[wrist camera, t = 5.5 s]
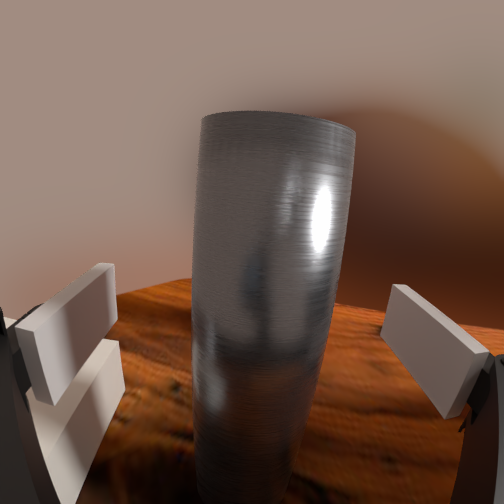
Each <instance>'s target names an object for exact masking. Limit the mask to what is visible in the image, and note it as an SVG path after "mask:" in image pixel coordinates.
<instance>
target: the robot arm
mask: <svg viewBox="0 0 504 504" xmlns="http://www.w3.org/2000/svg"><path fill="white" fill-rule="evenodd" d="M114 271H115V269H114V264H108V263H98V264H97V265H96V266H94V267H93V268H91V269H90V270H89V271H87V272H86V273H84V274H83V275H81V276H80V277H79V278H77V279H76V280H75V281H73V282H72V283H70V284H69V285H68V286H67V287H65V288H64V289H63V290H61V291H60V292H58V293H57V294H56V295H54V296H53V297H52V298H50V299H49V300H48V301H46V302H45V303H43V304H40V305H38V306H35V307H34V308H32V309H31V310H30V311H29V312H27V314H25V315H23V316H22V317H21V318H20V319H18V320H17V321H16V322H14V323H13V324H12V325H11V326H9V327H8V328H7V329H6V325H5V321H4V317H3V312H2V309H1V307H0V504H61V503H60V500H59V498H58V496H57V493H56V491H55V488H54V485H53V483H52V480H51V477H50V475H49V472H48V469H47V466H46V463H45V460H44V457H43V454H42V451H41V447H40V444H39V441H38V437H37V433H36V430H35V426H34V422H33V418H32V414H31V409H30V405H29V401H28V398H27V395H26V392H27V391H28V390H29V389H30V387H32V390H33V393H34V396H35V398H36V400H37V401H40V402H43V403H46V404H49V405H52V406H55V405H56V403H57V402H58V400H59V399H60V398H61V396H62V395H63V393H64V392H65V390H66V389H67V387H68V386H69V385H70V383H71V382H72V380H73V379H74V378H75V376H76V375H77V373H78V372H79V370H80V369H81V368H82V366H83V365H84V364H85V362H86V361H87V359H88V358H89V357H90V355H91V354H92V353H93V351H94V350H95V349H96V347H97V346H98V344H99V343H100V342H101V340H102V339H103V338H104V336H105V335H106V334H107V332H108V331H109V330H110V329H111V327H112V326H113V325H114V323H115V322H116V321H117V319H118V317H117V304H116V289H115V272H114ZM380 336H381V337H382V338H383V340H384V341H385V342H386V343H387V345H388V346H389V347H390V348H391V350H392V351H393V352H394V353H395V355H396V356H397V357H398V359H399V360H400V361H401V362H402V364H403V365H404V366H405V368H406V369H407V370H408V371H409V373H410V374H411V375H412V377H413V378H414V379H415V381H416V382H417V383H418V385H419V386H420V387H421V389H422V390H423V391H424V392H425V394H426V395H427V396H428V398H429V399H430V400H431V402H432V403H433V405H434V406H435V407H436V409H437V410H438V411H439V413H440V414H441V415H442V417H443V418H444V419H449V418H453V417H456V416H460V414H461V412H462V410H463V408H464V406H465V404H466V402H467V403H468V404H469V405H470V407H471V409H470V411H469V413H468V415H467V417H466V418H465V420H464V422H463V424H462V425H461V427H460V429H459V431H458V432H461V431H462V429H464V428H465V432H464V441H463V447H462V452H461V458H460V463H459V468H458V472H457V477H456V481H455V485H454V489H453V493H452V497H451V501H450V504H504V354H501V355H497V356H496V357H494V356H493V355H492V354H491V353H490V351H489V350H488V349H486V348H485V347H484V346H483V345H482V344H480V343H479V342H478V341H477V340H476V339H474V338H473V337H472V336H471V335H469V334H468V333H467V332H466V331H465V330H463V329H462V328H461V327H460V326H458V325H457V324H456V323H455V322H453V321H452V320H451V319H449V318H448V317H447V316H446V315H444V314H443V313H442V312H441V311H439V310H438V309H437V308H436V307H434V306H433V305H432V304H430V303H429V302H428V301H426V300H425V299H424V298H422V297H421V296H420V295H419V294H417V293H416V292H414V291H413V290H412V289H411V288H409V287H408V286H407V285H398V284H397V285H396V284H393V285H392V290H391V294H390V298H389V303H388V307H387V311H386V315H385V319H384V323H383V326H382V330H381V334H380Z"/></svg>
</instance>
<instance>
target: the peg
mask: <svg viewBox="0 0 504 504" xmlns="http://www.w3.org/2000/svg"><path fill="white" fill-rule="evenodd" d="M355 139H356V133H355V132H354V131H353V130H352V129H350V128H348V127H346V126H344V125H341V124H338V123H335V122H332V121H328V120H324V119H320V118H316V117H310V116H305V115H298V114H291V113H282V112H270V111H269V112H268V111H233V112H222V113H216V114H211V115H208V116H205V117H204V118H202V121H201V132H200V144H199V156H198V169H197V170H198V171H197V183H196V199H195V216H194V237H193V263H192V264H193V265H192V308H191V362H192V406H193V431H194V450H195V467H196V481H197V490H198V494H199V496H200V498H201V500H202V501H203V503H204V504H280V503H281V502H282V500H283V498H284V496H285V493H286V490H287V487H288V484H289V481H290V478H291V475H292V471H293V468H294V465H295V462H296V459H297V455H298V452H299V449H300V445H301V442H302V439H303V435H304V432H305V428H306V424H307V421H308V417H309V413H310V410H311V406H312V402H313V398H314V394H315V390H316V386H317V382H318V378H319V374H320V370H321V365H322V361H323V356H324V352H325V347H326V343H327V338H328V333H329V328H330V323H331V318H332V313H333V308H334V302H335V297H336V291H337V285H338V279H339V274H340V268H341V261H342V255H343V248H344V241H345V234H346V227H347V219H348V210H349V203H350V194H351V184H352V175H353V174H352V173H353V164H354V152H355Z"/></svg>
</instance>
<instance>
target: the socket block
mask: <svg viewBox="0 0 504 504" xmlns="http://www.w3.org/2000/svg"><path fill="white" fill-rule="evenodd" d="M4 321H5V325H6V329H7V328H8V327H9V326H11V325H12V324H13V323H14V322H16V321H17V320H14V319H10V318H6V317H4ZM124 391H125V385H124V379H123V372H122V365H121V358H120V350H119V341H113V340H107V339H102V340H101V342H100V343H99V344H98V346H97V347H96V349H95V350H94V351H93V353H92V354H91V355H90V357H89V358H88V359H87V361H86V362H85V364H84V365H83V366H82V368H81V369H80V370H79V372H78V373H77V375H76V376H75V378H74V379H73V380H72V382H71V383H70V385H69V386H68V387H67V389H66V390H65V392H64V393H63V395H62V396H61V398H60V399H59V400H58V402H57V403H56V405H55V406H52V405H49V404H46V403H43V402H40V401H37V400H36V398H35V396H34V393H33V390H32V387H30V389H29V390H28V391H27V392H26V395H27V398H28V401H29V405H30V409H31V414H32V418H33V422H34V426H35V430H36V433H37V437H38V441H39V444H40V447H41V451H42V454H43V457H44V460H45V463H46V466H47V469H48V472H49V475H50V477H51V480H52V483H53V485H54V488H55V491H56V493H57V496H58V498H59V500H60V503H61V504H75V503H76V500H77V498H78V495H79V493H80V490H81V488H82V485H83V483H84V481H85V478H86V476H87V473H88V471H89V469H90V466H91V464H92V462H93V459H94V457H95V455H96V452H97V450H98V448H99V446H100V443H101V441H102V439H103V437H104V434H105V432H106V430H107V428H108V425H109V423H110V421H111V419H112V417H113V415H114V412H115V410H116V408H117V406H118V404H119V402H120V399H121V397H122V395H123V393H124Z"/></svg>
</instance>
